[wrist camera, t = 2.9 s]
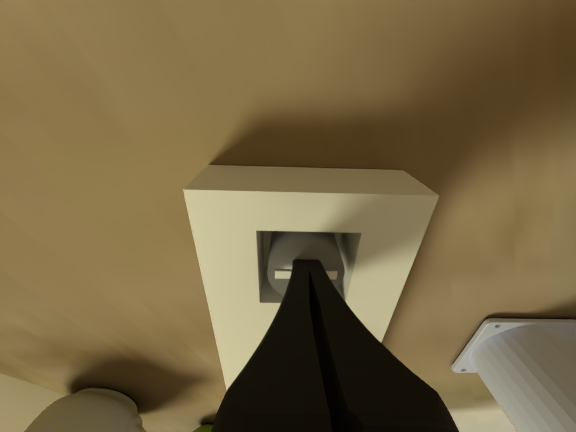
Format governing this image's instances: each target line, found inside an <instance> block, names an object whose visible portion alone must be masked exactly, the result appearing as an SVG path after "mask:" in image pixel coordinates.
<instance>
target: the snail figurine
mask: <svg viewBox="0 0 576 432" xmlns="http://www.w3.org/2000/svg"><path fill="white" fill-rule="evenodd" d="M212 426H213V425H212V424H206V425H203V426H200V427H199V428H197V429H196V430H194V431H193V432H211V429H212Z"/></svg>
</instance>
